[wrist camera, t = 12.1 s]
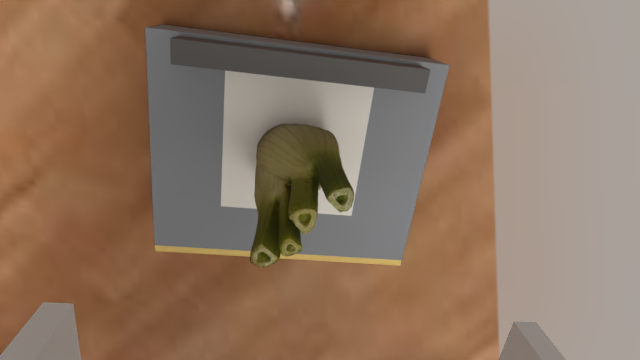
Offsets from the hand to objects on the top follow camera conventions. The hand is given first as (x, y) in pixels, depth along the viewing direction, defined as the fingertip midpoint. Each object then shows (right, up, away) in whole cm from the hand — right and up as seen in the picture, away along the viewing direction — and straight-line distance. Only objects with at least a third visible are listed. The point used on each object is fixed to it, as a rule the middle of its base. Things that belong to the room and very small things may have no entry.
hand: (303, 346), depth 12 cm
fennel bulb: (-1, +7, +17) cm, 18 cm away
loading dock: (-2, +8, +21) cm, 22 cm away
